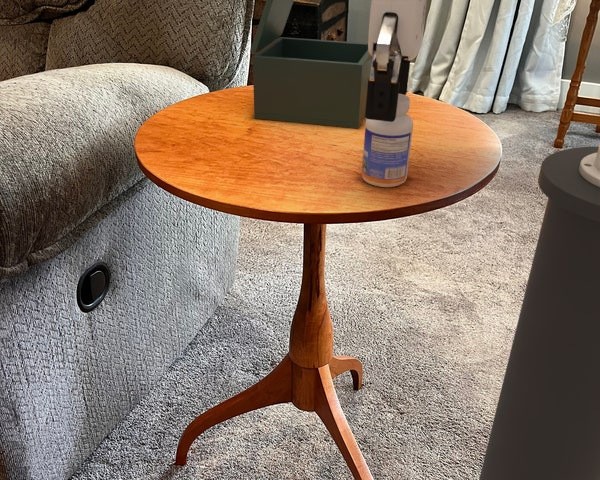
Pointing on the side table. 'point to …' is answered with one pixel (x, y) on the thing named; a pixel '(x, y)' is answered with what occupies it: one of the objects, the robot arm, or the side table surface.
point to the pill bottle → (388, 148)
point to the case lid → (271, 23)
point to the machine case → (312, 82)
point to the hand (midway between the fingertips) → (386, 106)
